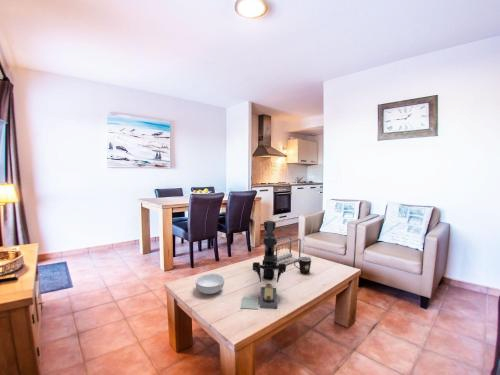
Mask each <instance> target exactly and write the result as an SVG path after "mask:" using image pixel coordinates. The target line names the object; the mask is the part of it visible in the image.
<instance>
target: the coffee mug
mask: <svg viewBox="0 0 500 375" xmlns="http://www.w3.org/2000/svg"><path fill="white" fill-rule="evenodd" d="M298 258H299V261H295V260H294V261H295V262H294V263H293V265H294V266H295V268H297V269H299V273H300V274H301V275H307V276H308V275H309V274H310V272H311V264H312V257H309V256H308V257H307V256H300V257H299V256H298ZM296 263H298V264H299V266H296Z"/></svg>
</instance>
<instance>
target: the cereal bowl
mask: <svg viewBox="0 0 500 375" xmlns="http://www.w3.org/2000/svg"><path fill="white" fill-rule="evenodd" d="M224 285H225V278H224V276H223V275H221V274H219V273H205V274H201V275H199V276H198V277H197V278H196V279H195V287H196V289H197V291H199V292H200V293H202V294H205V295H212V294H216V293H218V292H220V291H221V290H222V289H223V288H224Z"/></svg>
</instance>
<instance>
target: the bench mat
mask: <svg viewBox="0 0 500 375" xmlns="http://www.w3.org/2000/svg"><path fill="white" fill-rule="evenodd" d="M259 301H260V297H253V296H252V297H250V296H242V299H241V303H240V309H241V310H242V309H243V310H244V309H245V310H246V309H247V310H258V309H259Z"/></svg>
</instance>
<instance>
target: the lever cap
mask: <svg viewBox="0 0 500 375" xmlns="http://www.w3.org/2000/svg"><path fill="white" fill-rule="evenodd" d="M264 287H265V294H264V302H273V288H274V286H273V285H272V286H266V285H264Z"/></svg>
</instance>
